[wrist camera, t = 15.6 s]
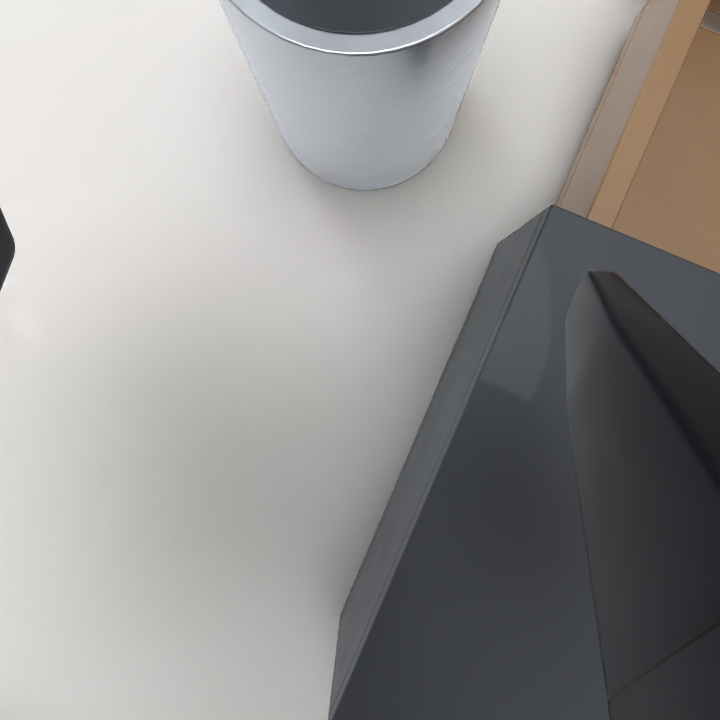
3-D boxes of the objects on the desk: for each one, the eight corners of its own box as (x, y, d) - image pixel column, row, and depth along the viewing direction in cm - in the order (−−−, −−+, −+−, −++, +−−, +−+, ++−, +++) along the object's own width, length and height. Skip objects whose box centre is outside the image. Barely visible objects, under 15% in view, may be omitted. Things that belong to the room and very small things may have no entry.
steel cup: (483, 152, 22) (588, -23, 11) (311, 217, 23) (252, 106, 12) (420, -24, 22) (465, -375, 11) (247, 43, 23) (126, -236, 11)
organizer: (497, 243, 23) (552, 203, 16) (856, 391, 23) (1068, 417, 16) (339, 615, 23) (326, 734, 16) (686, 760, 23) (817, 939, 16)
